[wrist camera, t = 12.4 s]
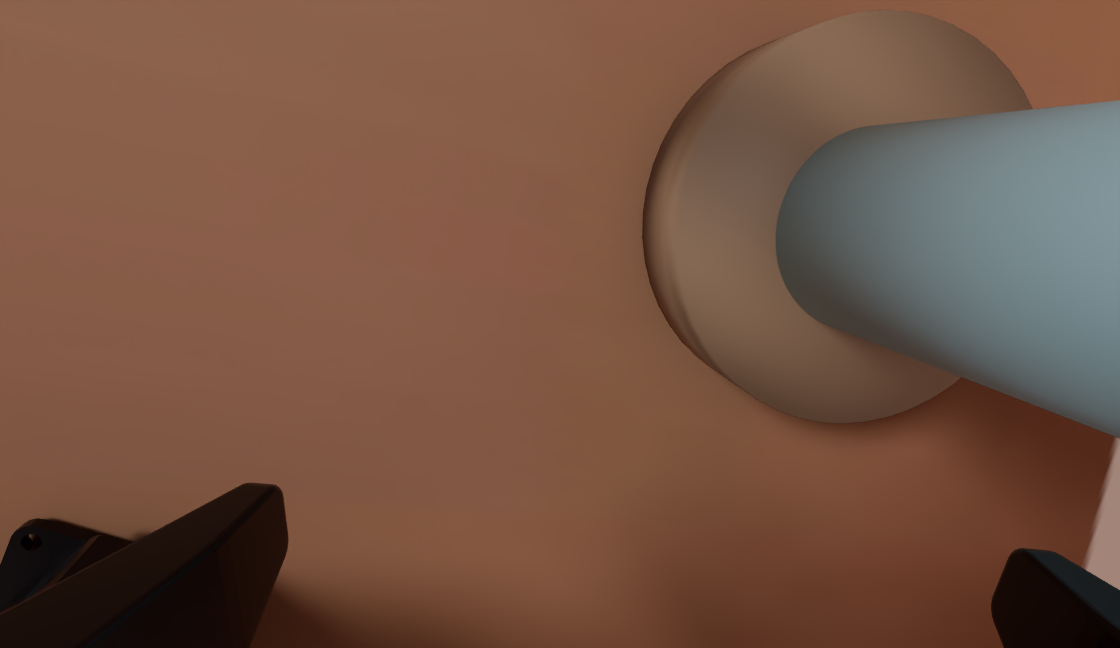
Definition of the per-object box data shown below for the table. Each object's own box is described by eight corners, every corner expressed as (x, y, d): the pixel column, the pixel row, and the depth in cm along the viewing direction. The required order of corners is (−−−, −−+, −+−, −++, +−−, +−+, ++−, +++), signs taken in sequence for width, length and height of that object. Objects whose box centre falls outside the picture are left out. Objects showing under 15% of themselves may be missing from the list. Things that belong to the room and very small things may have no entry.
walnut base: (862, 437, 23) (924, 475, 20) (580, 311, 20) (605, 334, 18) (1027, 139, 22) (1117, 134, 19) (750, -41, 19) (807, -78, 16)
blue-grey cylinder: (846, 370, 19) (1628, 742, 7) (736, 221, 18) (1490, 345, 5) (993, 240, 19) (2051, 371, 7) (896, 79, 18) (2043, -142, 5)
